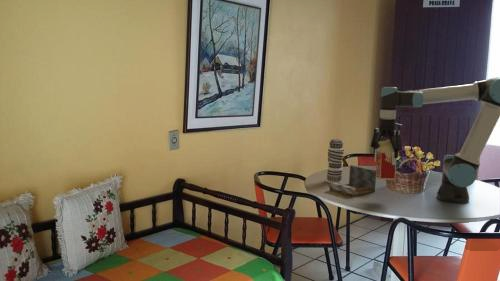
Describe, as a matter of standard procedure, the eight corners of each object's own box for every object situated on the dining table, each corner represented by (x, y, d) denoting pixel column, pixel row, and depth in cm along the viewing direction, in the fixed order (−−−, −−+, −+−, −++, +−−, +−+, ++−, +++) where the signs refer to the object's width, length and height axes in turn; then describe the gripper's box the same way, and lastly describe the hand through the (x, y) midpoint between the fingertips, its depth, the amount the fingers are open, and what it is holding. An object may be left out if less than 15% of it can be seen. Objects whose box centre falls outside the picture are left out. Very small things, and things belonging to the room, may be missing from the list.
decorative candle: (342, 184, 250) (344, 141, 246) (326, 182, 252) (328, 140, 248) (342, 180, 259) (344, 139, 255) (326, 179, 260) (328, 138, 257)
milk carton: (391, 176, 222) (394, 137, 219) (396, 180, 213) (398, 140, 210) (373, 175, 223) (375, 137, 220) (377, 179, 213) (379, 139, 211)
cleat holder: (374, 191, 234) (376, 170, 232) (352, 197, 222) (354, 174, 220) (351, 185, 246) (352, 165, 244) (328, 190, 234) (330, 168, 233)
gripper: (412, 119, 207) (409, 165, 211) (373, 116, 224) (371, 158, 228) (403, 120, 203) (400, 167, 206) (364, 117, 220) (362, 160, 223)
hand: (385, 162), depth 217 cm, fingers closed on milk carton, 9 cm apart
